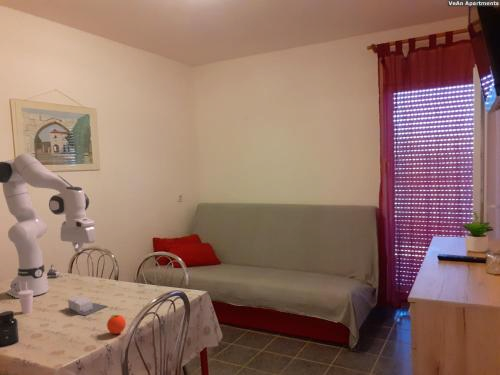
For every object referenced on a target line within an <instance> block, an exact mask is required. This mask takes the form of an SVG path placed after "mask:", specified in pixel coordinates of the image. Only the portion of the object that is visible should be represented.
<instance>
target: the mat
mask: <svg viewBox="0 0 500 375" xmlns="http://www.w3.org/2000/svg"><path fill="white" fill-rule="evenodd" d="M92 308H93V309H92V310H89V311H87V312H83V313H78V312H76V311H74V310H72V309H70V308H69V310H66V312H67V313H70V314H76V315H80V316H83V317H87V316H89V315H91V314H94V313H96V312H99V311H101V310H103V309H105V308H108V305H106V304H105V305H104V304H100V303H96V302H95V303H94V302H92Z"/></svg>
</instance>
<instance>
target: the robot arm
mask: <svg viewBox="0 0 500 375" xmlns="http://www.w3.org/2000/svg"><path fill="white" fill-rule="evenodd" d="M0 183H2V191H3V195H4V198H5V202H6V204H7V209H8V212H9V213H10V214H11V215H12V216H14V218H15V219H16V220H17V223H15V224H14V225H12V226H11V227H10V228H9V229H8V231H7V232H8V233H7V236H8V239H9V240H10V241H11V242H12V243H13V244H14V246H15V249H16V251H17V256H18V265H19V266H18V269H16V270H17V276H16V277H15V278H13V280H12V281H11V283H10V285H9V286H10V289H9V290H7V291H6V292H5V294H6V293H8V294H9V296H10V295H11V297H12V296H13V297H12V298H14V297H15V298H14V299H19V296H18V293H19V292H21V291H25V290H26V284H25V282H27V290H33V291H34V293H33V297H34V296H38V295H42V294H44V293H45V294H46V293H47V292H48V291H49V289H51V285H49V281H48V277H47V273H45V271H46V270H45V264H44V260H43V259H44V258H43V257H44V256H43V250H42V249H41V248H40V247H39V245H38V241H37V239H39V238H41V237H42V236H43V235H44V234H45V233H46V232H47V230H48V225H47V223H46V222H45V221H44V220H43V219H42V218H41V217H40V215H39V213H38V212H37V210H36V209H35V206H34V205H33V204H34V203H33V202H32V199H31V196H30V193H29V189H28V187H27V184H28V185H29V186H31V187H33V188H39V189H49V190H50V189H51V190H55V191H57V192H59V193H58V194H55V195H52V196H51V197H50V199H49V201H48V202H49V203H48V207H49V210H50V212H52V214H54V215H59V216H61V215H65V217H64V218H65V221H63V222H62V223H61V226H60V240H61V241H62V242H68V243H69V242H71V243H72V244H71V245H72V247H73V249H74V252H76V253H82V251H83V246H84V244H92V243H95V241H96V229H95V227H94V226H95V221H94V220H93V219H91V218H89V217H87V211H86V210H87V209H88V208H89V205H90V199H89V197H88V196H87V194H86V193H85V191H84V189H83V188H82V187H80V186H73V185H72V184H70V183H69V182H68V181H67V180H66V179H64V178H63V177H62V176H60V175H58V174H56V173H54V172H53V171H51V170H50V169H48V168H47V167H46V166H44V165H43V163H41V162H40V161H39V160H38V159H37V158H35V157H34V156H33V155H31V154H29V153H21V154H19V155H17V156H16V157H15V158H14V159H10V160H6V161H0ZM8 294H7V295H8Z"/></svg>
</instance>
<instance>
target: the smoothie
mask: <svg viewBox="0 0 500 375" xmlns="http://www.w3.org/2000/svg"><path fill="white" fill-rule="evenodd" d="M25 284H26V290H25V291H21V292H19V293H18V296H19V298H18V299H19V303H20V308H21V311H22V314H23V313H24V314H30V313H32V312H33V303H34V302H33V298H34V296H33V293H34V291H33V290H27V282H25Z"/></svg>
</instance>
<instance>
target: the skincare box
mask: <svg viewBox="0 0 500 375" xmlns="http://www.w3.org/2000/svg"><path fill="white" fill-rule="evenodd" d="M67 302H68V308H69V310H70V309H72V310H74V311H76V312H78V313H83V312H87V311H89V310H92V309H93V308H92V303H93V301H92V300H91V299H89V298H86V297H83V296H81V295H77V296H74V297H73V296H72V297H71V298H68V299H67Z"/></svg>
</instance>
